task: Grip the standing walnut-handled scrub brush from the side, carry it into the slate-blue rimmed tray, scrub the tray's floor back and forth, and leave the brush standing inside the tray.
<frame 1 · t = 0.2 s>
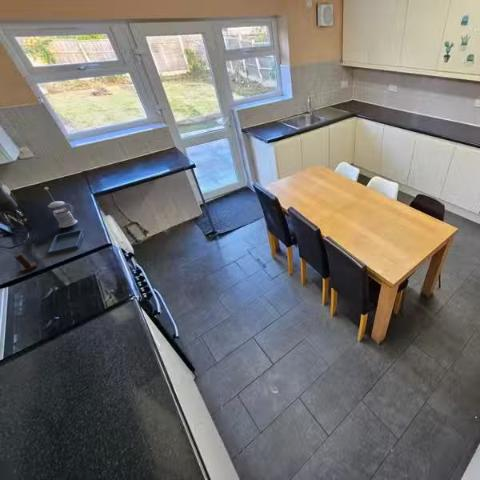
hand: (24, 228, 135), 21 cm above the worktop, tool pointing down, fingers open, 8 cm apart
tray: (68, 243, 159), on the worktop
brush: (32, 270, 141), on the worktop
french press: (69, 223, 175), on the worktop
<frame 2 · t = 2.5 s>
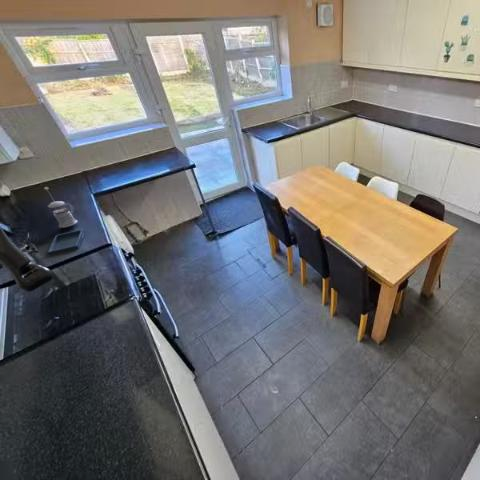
hand: (10, 249, 124), 20 cm above the worktop, tool horizontal, fingers open, 8 cm apart
nothing on the worktop moved.
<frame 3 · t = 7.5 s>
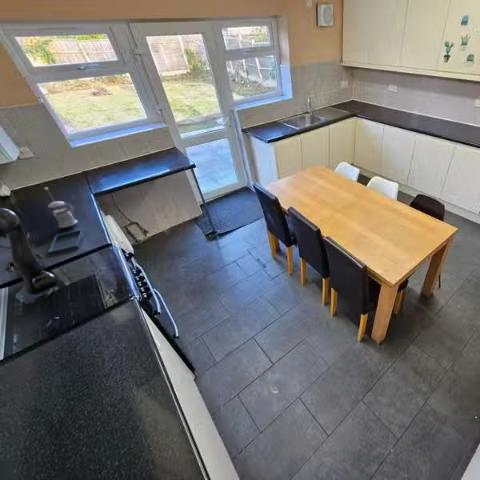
hand: (18, 256, 137), 9 cm above the worktop, tool horizontal, fingers closed on brush, 3 cm apart
brush: (32, 270, 141), on the worktop, touching gripper
everything else where it was.
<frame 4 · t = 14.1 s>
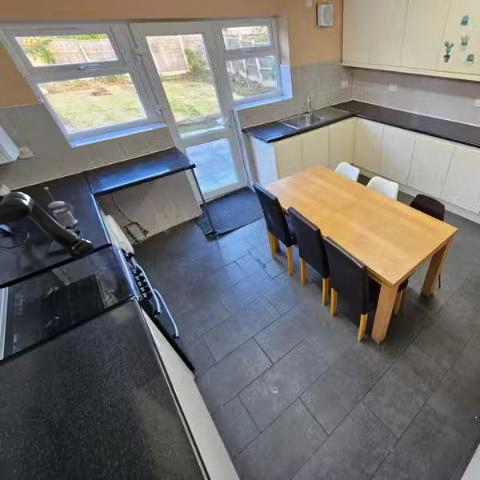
hand: (57, 228, 155), 10 cm above the worktop, tool horizontal, fingers closed on brush, 2 cm apart
brush: (68, 242, 159), point 1 cm above the worktop, touching gripper
everything else where it was.
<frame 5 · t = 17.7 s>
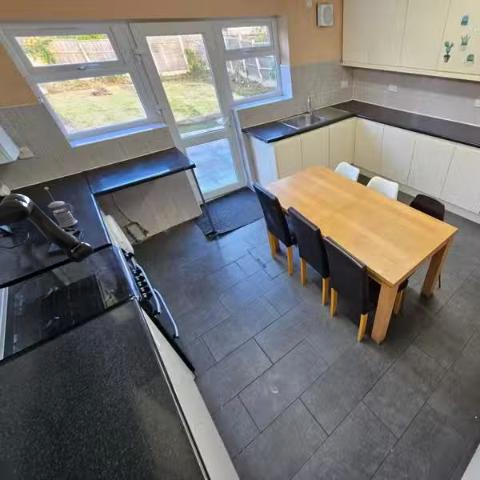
hand: (55, 230, 153), 9 cm above the worktop, tool horizontal, fingers closed on brush, 3 cm apart
brush: (67, 244, 157), point 1 cm above the worktop, touching gripper
everything else where it was.
when the fingers open (9 cm above the worktop, at t = 20.9 s): brush stays where it is, resting on tray.
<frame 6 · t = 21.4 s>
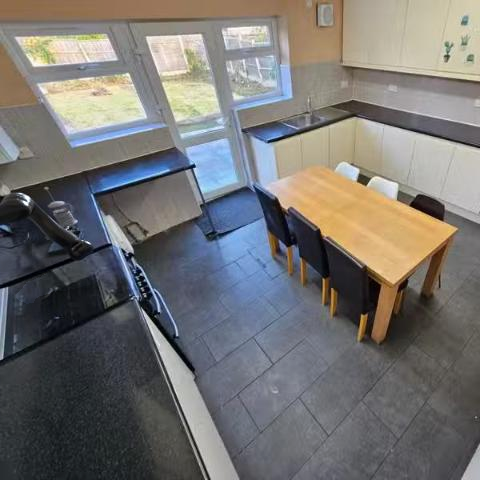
hand: (57, 229, 154), 9 cm above the worktop, tool horizontal, fingers open, 7 cm apart
brush: (68, 244, 157), resting on tray
everything else where it was.
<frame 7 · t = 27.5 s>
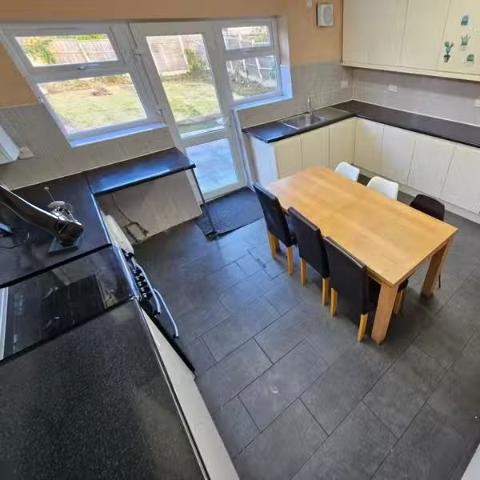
hand: (45, 211, 138), 26 cm above the worktop, tool horizontal, fingers open, 8 cm apart
nothing on the worktop moved.
at the end: brush inside the target area in the tray (1.8 cm from its centre), point 0.5 cm above the tray's base; brush tilted 0°; the gripper is holding nothing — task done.
